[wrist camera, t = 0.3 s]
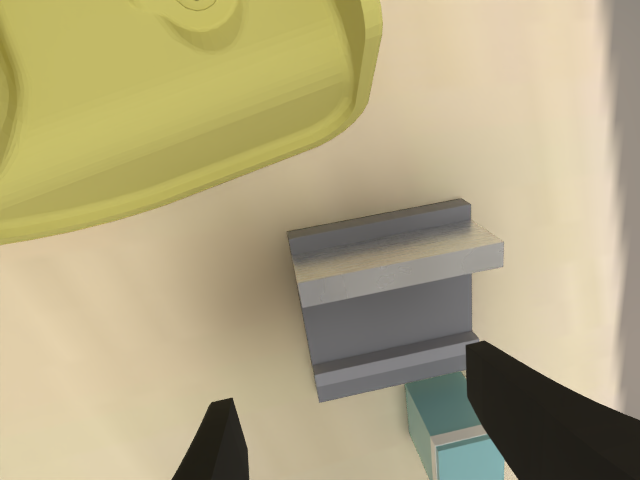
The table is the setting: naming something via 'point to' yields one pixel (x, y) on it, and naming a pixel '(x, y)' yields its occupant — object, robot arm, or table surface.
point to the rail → (395, 262)
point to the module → (450, 431)
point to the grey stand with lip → (387, 313)
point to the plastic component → (166, 99)
